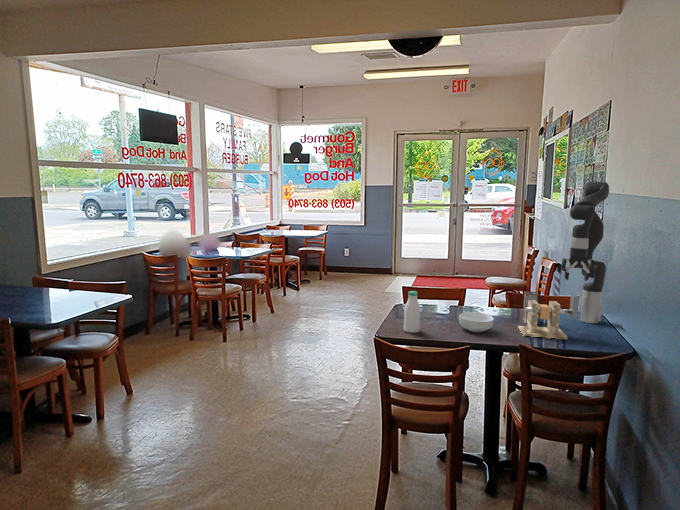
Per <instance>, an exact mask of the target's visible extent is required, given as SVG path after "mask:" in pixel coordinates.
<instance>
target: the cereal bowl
mask: <svg viewBox="0 0 680 510" xmlns="http://www.w3.org/2000/svg"><path fill="white" fill-rule="evenodd" d="M494 320H495V318H494V317H493V316H491V315H489V314H486V313H482V312H475V311H473V312H472V311H467V312H462V313H459V314H458V322H459V324H460V326H462V327H463V328H464V329H466V330H468V331H469V332H471V333H482V332H485V331H488V330H490V329H491V328H492V327H493V326H494Z"/></svg>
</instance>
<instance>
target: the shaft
mask: <svg viewBox="0 0 680 510" xmlns="http://www.w3.org/2000/svg"><path fill="white" fill-rule="evenodd" d="M569 301H570V304H569V308H560V314H561V315H562V314H563V315H569V316H570V317H571V318H578V313H579V312H578V311H579V304H580V303H579V302H580V297H579V296H578V295H577V294H570V300H569ZM526 312H531V307H526ZM538 313H540V308H538ZM549 313H552V308H550V312H549Z"/></svg>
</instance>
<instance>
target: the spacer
mask: <svg viewBox="0 0 680 510" xmlns="http://www.w3.org/2000/svg"><path fill="white" fill-rule="evenodd" d="M539 308H540V313H538V319H540V320H547V321H548V320H549V312H550V307H549V304H541V303H539Z"/></svg>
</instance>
